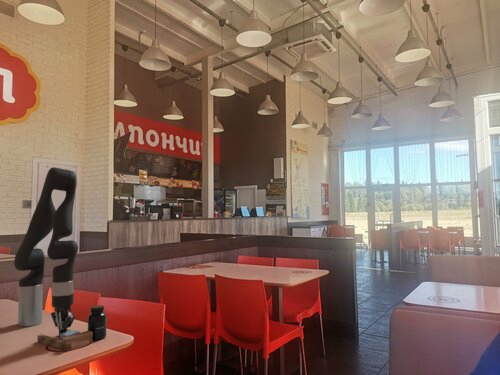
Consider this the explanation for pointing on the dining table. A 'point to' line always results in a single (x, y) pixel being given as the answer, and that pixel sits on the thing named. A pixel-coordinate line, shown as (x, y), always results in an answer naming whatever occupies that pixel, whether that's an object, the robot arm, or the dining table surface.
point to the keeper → (68, 334)
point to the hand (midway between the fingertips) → (62, 338)
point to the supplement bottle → (97, 322)
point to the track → (67, 340)
